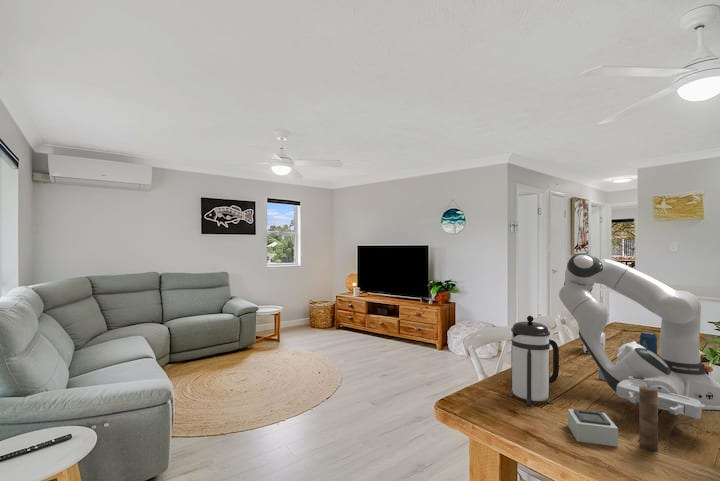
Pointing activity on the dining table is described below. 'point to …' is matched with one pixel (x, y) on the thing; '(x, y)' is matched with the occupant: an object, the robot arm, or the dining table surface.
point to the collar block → (592, 427)
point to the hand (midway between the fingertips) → (652, 405)
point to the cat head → (627, 349)
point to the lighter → (602, 374)
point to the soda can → (649, 341)
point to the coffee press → (532, 361)
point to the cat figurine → (602, 342)
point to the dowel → (648, 418)
